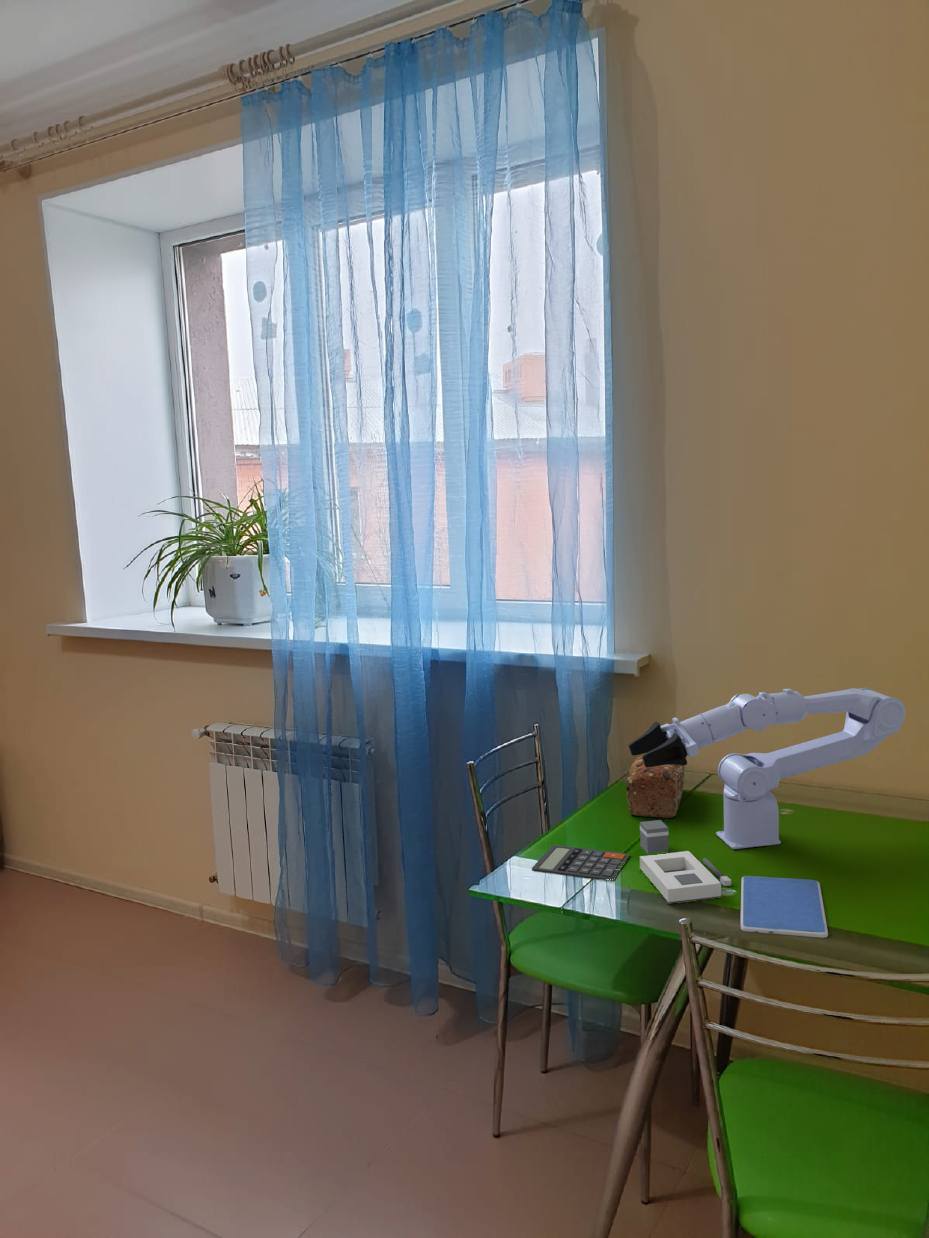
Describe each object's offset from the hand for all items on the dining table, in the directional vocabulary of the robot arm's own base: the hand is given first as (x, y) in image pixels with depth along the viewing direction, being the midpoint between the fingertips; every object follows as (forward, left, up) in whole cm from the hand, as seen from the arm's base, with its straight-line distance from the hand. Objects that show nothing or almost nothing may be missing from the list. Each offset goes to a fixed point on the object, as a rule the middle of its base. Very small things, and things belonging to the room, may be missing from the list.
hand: (636, 755), depth 174 cm
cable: (-9, +12, -18) cm, 24 cm away
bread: (-12, -24, -19) cm, 33 cm away
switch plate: (-2, +15, -18) cm, 24 cm away
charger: (-3, 0, -18) cm, 19 cm away
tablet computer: (-14, +27, -19) cm, 36 cm away
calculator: (+12, +2, -19) cm, 22 cm away
